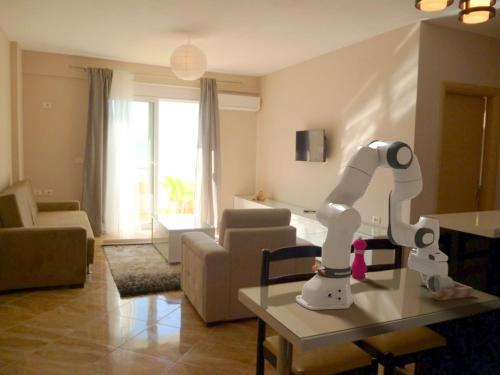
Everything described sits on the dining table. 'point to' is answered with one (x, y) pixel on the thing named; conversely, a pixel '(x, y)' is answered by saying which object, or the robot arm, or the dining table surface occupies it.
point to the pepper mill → (359, 259)
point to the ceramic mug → (439, 283)
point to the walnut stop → (454, 292)
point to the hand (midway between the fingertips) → (425, 283)
